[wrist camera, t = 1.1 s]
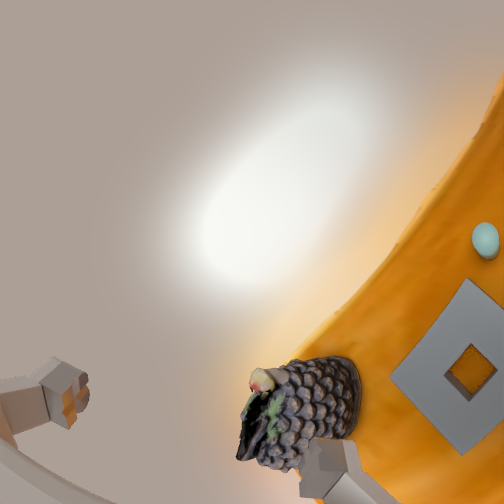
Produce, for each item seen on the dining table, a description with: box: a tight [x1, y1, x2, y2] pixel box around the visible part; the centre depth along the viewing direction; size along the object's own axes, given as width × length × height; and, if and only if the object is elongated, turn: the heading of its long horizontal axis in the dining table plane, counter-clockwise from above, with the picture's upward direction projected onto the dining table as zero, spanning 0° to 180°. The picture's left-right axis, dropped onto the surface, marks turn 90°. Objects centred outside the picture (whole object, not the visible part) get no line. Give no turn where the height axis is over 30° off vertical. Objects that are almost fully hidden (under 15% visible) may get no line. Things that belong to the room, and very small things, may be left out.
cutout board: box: [389, 278, 504, 456], centre depth 34 cm, size 20×20×4 cm
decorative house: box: [236, 356, 362, 473], centre depth 45 cm, size 21×15×25 cm
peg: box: [472, 223, 500, 260], centre depth 34 cm, size 4×4×9 cm
